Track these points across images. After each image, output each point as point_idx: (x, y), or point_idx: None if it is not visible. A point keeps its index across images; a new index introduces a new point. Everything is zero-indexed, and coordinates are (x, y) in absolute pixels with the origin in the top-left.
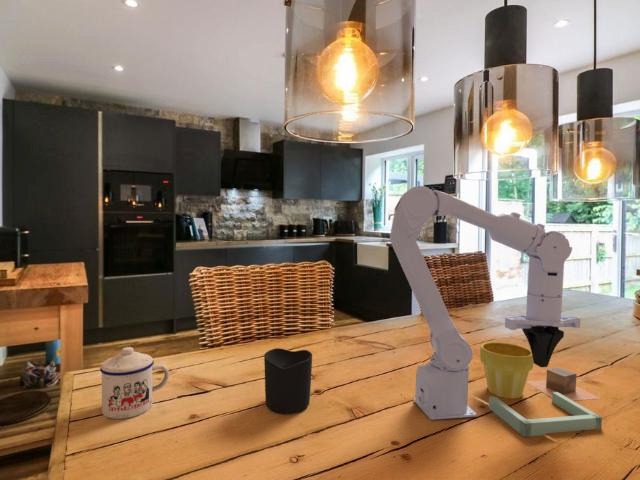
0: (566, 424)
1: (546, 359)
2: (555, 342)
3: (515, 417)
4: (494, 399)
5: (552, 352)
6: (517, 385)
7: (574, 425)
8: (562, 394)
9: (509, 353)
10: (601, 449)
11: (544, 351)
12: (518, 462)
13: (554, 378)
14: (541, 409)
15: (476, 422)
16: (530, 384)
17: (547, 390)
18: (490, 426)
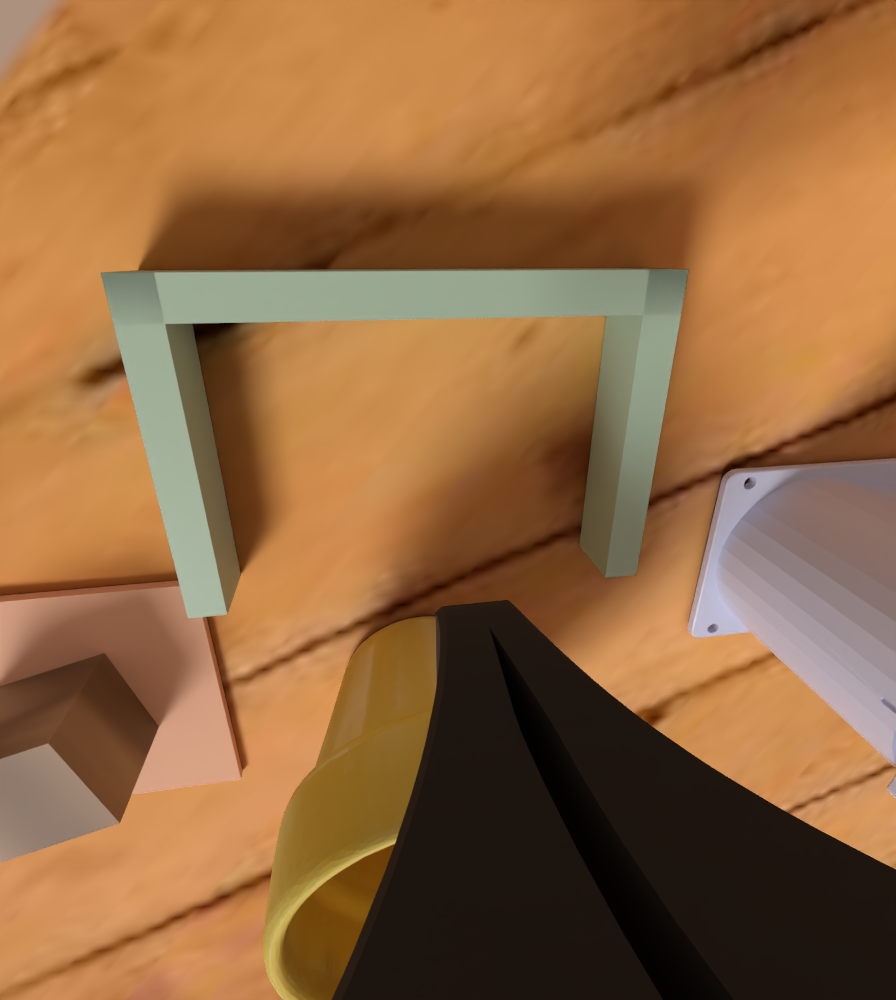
0: (397, 270)
1: (493, 649)
2: (468, 877)
3: (668, 357)
4: (633, 545)
5: (445, 717)
6: (431, 659)
7: (337, 270)
8: (110, 656)
9: (353, 931)
10: (301, 58)
11: (589, 716)
12: (860, 40)
13: (106, 755)
14: (343, 523)
15: (755, 428)
16: (231, 750)
17: (175, 695)
18: (723, 387)
